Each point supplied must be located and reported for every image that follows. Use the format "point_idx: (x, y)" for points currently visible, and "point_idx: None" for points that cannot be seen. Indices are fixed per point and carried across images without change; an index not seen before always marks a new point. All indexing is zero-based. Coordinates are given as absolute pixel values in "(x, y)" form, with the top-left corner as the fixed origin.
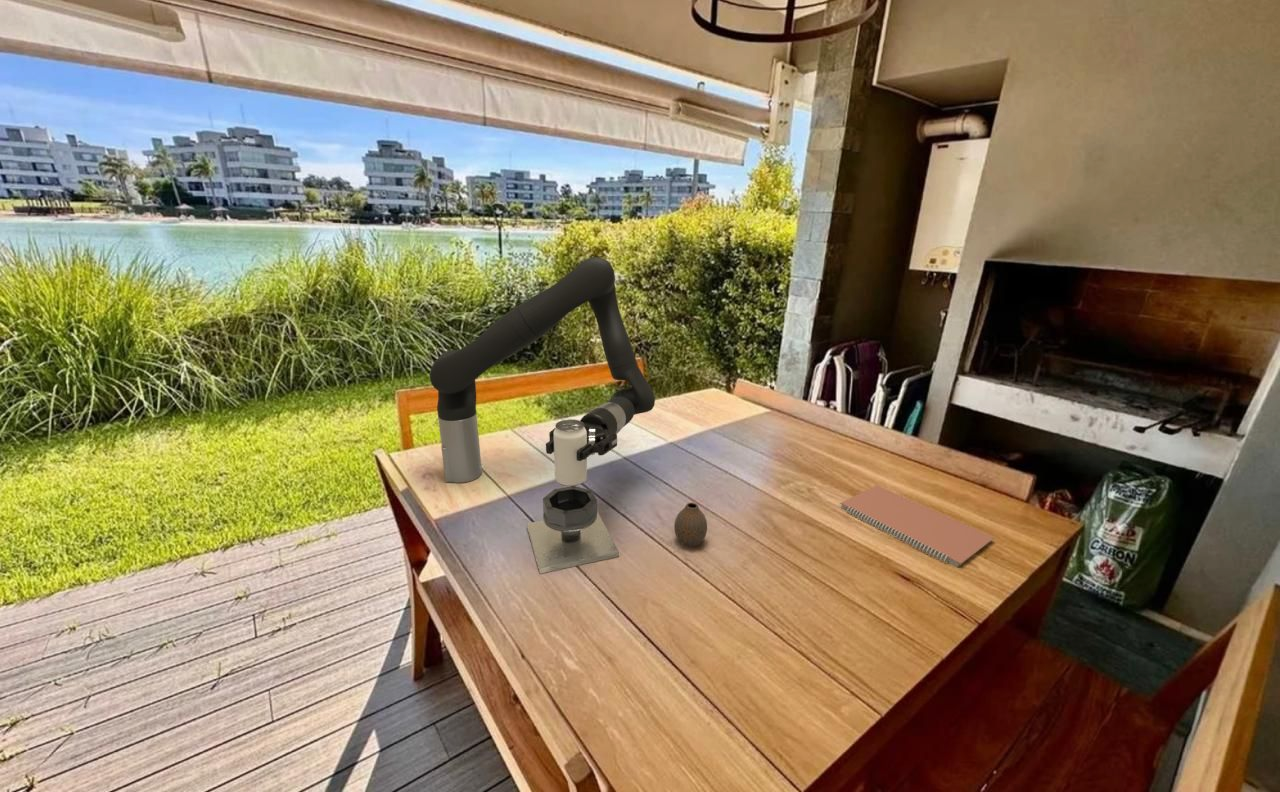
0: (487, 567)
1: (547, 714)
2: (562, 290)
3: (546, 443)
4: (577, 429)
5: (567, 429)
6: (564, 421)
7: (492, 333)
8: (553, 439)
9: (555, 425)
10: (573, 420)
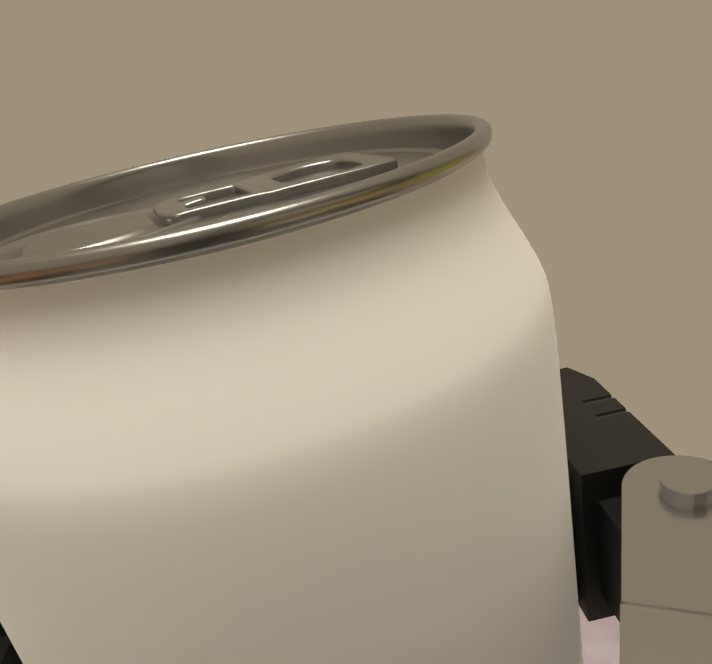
0: (600, 640)
1: None
2: None
3: (587, 378)
4: (10, 202)
5: (198, 190)
6: (455, 171)
7: None
8: (587, 413)
9: (408, 119)
10: (286, 228)
